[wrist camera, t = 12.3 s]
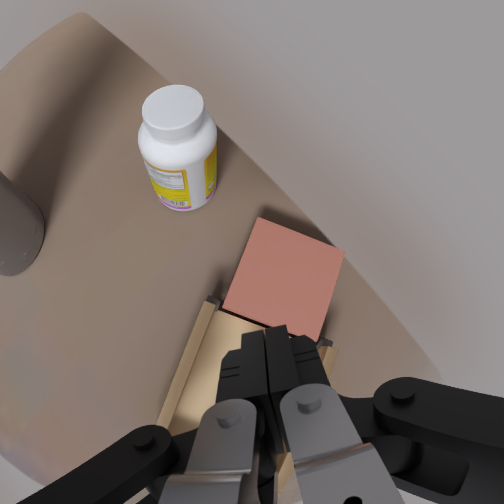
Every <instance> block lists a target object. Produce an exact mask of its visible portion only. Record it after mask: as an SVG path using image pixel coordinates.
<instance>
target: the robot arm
mask: <svg viewBox="0 0 504 504" xmlns="http://www.w3.org/2000/svg"><path fill="white" fill-rule="evenodd" d="M43 236H44V220H43V217H42V214H41V211H40V210H39V208H38V207H37V206H36V205H35V204H34V203H33V202H32V201H31V200H30V199H29V198H27V197H26V196H25V195H24V194H23V193H22V192H21V191H20V190H19V189H18V188H17V187H16V186H15V185H14V184H13V183H12V182H11V181H10V180H9V179H8V178H7V177H6V176H5V175H4V174H3V173H2V172H1V171H0V274H2V275H5V276H12V275H16V274H19V273H20V272H22V271H24V270H25V269H26V268H27V267H28V266H29V265H30V264H31V263H32V262H33V260H34V259H35V258H36V256H37V254H38V252H39V250H40V247H41V245H42V241H43ZM283 440H284V443H283ZM284 444H285V447H286V451H287V453H288V452H291V455H292V459H293V463H294V468H295V472H296V476H297V480H298V484H299V488H300V492H301V496H302V500H303V504H405V502H404V501H403V499H402V497H401V495H400V493H399V491H398V490H397V488H399V489H401V490H403V491H406V492H408V493H411V494H413V495H416V496H419V497H421V498H424V499H427V500H429V501H432V502H435V503H438V504H504V398H502V397H497V396H492V395H487V394H482V393H477V392H473V391H468V390H464V389H459V388H454V387H451V386H446V385H442V384H438V383H434V382H430V381H426V380H422V379H418V378H413V377H401V378H396V379H392V380H390V381H387V382H385V383H384V384H382V385H381V386H380V387H379V388H378V389H377V390H376V391H375V393H374V396H373V397H371V398H348V397H344V396H342V395H339V394H338V393H337V392H336V391H335V390H334V389H333V388H332V387H331V386H330V383H329V380H328V377H327V375H326V372H325V369H324V367H323V364H322V361H321V358H320V356H319V353H318V351H317V348H316V345H315V342H314V340H312V339H311V338H309V337H308V336H306V335H301V336H296V337H292V338H289V335H288V330H287V326H286V324H284V325H280V326H275V327H271V328H266V329H265V333H264V330H263V329H262V330H257V331H253V332H248V333H243V334H242V335H241V349H235V350H230V351H228V353H227V354H226V355H225V356H224V358H223V359H222V361H221V367H220V374H219V381H218V387H217V394H216V401H215V405H213V406H211V407H210V408H209V409H207V410H206V411H205V413H204V414H203V415H202V418H201V421H200V424H199V427H198V428H196V429H193V430H191V431H188V432H185V433H181V434H178V435H175V436H171V434H170V432H169V431H168V430H167V429H166V428H165V427H162V426H159V425H146V426H142V427H139V428H137V429H135V430H133V431H131V432H130V433H128V434H127V435H125V436H124V437H122V438H121V439H120V440H118V441H117V442H115V443H114V444H112V445H111V446H109V447H108V448H106V449H105V450H103V451H102V452H100V453H99V454H97V455H96V456H94V457H93V458H91V459H89V460H88V461H86V462H85V463H83V464H82V465H80V466H79V467H77V468H75V469H74V470H72V471H71V472H69V473H67V474H66V475H64V476H63V477H61V478H59V479H58V480H56V481H54V482H53V483H51V484H49V485H48V486H46V487H44V488H43V489H41V490H39V491H38V492H36V493H34V494H32V495H31V496H29V497H27V498H26V499H24V500H22V501H20V502H18V503H17V504H123V503H125V502H126V501H127V500H129V499H130V498H131V497H133V496H134V495H136V494H137V493H138V492H140V491H141V490H142V489H144V488H146V489H147V490H148V492H149V493H150V494H148V495H147V496H146V497H144V498H143V499H142V500H140V501H139V502H138V503H136V504H277V503H278V474H277V471H276V468H277V462H276V455H278V454H284V453H285V451H284Z"/></svg>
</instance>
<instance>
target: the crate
mask: <svg viewBox="0 0 504 504" xmlns="http://www.w3.org/2000/svg"><path fill="white" fill-rule="evenodd" d="M220 303H221V300H219V299H216V298H214V297H211V296H208V298H207V300H206V301H204V302H203V305H202V307H201V310H200V312H199V315H198V317H197V320H196V322H195V325H194V327H193V330H192V332H191V335H190V337H189V340H188V342H187V345H186V347H185V350H184V353H183V355H182V358H181V360H180V363H179V365H178V368H177V371H176V373H175V376H174V378H173V381H172V383H171V386H170V389H169V391H168V394H167V397H166V399H165V402H164V404H163V407H162V410H161V412H160V415H159V418H158V420H157V423H156V425H159V426H162V427H165V428H166V429H167V430H168V431H169V432H170V434H171V436H175V435H178V434H181V433H185V432H188V431H191V430H193V429H196V428H198V427H199V424H200V421H201V418H202V415H203V414H204V413H205V411H206V410H207V409H209V408H210V407H211V406H213V405H215V401H216V394H217V387H218V381H219V374H220V367H221V361H222V359H223V358H224V356H225V355H226V354H227V353H228V351H230V350H235V349H241V335H242V334H243V333H248V332H253V331H257V330H262V329H263V330H264V333H265V329H266V328H264V327H261V326H259V325H256V324H253V323H251V322H248V321H245V320H243V319H240V318H237V317H235V316H232V315H230V314H227V313H224V312H222V311H219V310H218V308H219V306H220ZM289 338H292V337H289ZM332 344H333V342H332V341H331V340H328V339H325V338H322V337H319V339H318V340H317V343H316V348H317V351H318V353H319V356H320V358H321V361H322V364H323V367H324V369H325V372H326V375H327V377H328V379H329V377H330V374H331V371H332V368H333V365H334V362H335V359H336V356H337V353H338V349H335V348H332ZM283 443H284V440H283ZM284 451H285V453H284V454H278V455H276V462H277V468H276V471H277V474H278V494H281V493H282V491H283V489H284V487H285V485H286V483H287V481H288V479H289V476H290V474H291V472H292V470H293V467H294V463H293V459H292V455H291V452H288V453H287V451H286V447H285V444H284Z"/></svg>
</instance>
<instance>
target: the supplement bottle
mask: <svg viewBox="0 0 504 504" xmlns="http://www.w3.org/2000/svg"><path fill="white" fill-rule="evenodd" d="M142 116H143V120H144V121H143V123H142V124H141V127H140V129H139V133H138V144H139V148H140V152H141V155H142V157H143V160H144V163H145V166H146V168H147V171H148V174H149V177H150V179H151V182H152V185H153V188H154V190H155V192H156V195H157V197H158V198H159V200H160V201H161V202H162V203H163V204H164V205H166V206H167V207H169V208H171V209H174V210H177V211H190V210H194V209H197V208H199V207H201V206H203V205H204V204H205V203H207V202H208V201H209V200H210V198H211V197H212V195H213V194H214V192H215V189H216V183H217V128H216V124H215V121H214V119H213V118H212V116H211V115H210V114H209V113H208V112H207V111H206V110H205V108H204V100H203V97H202V96H201V94H200V93H199V92H198V91H196V90H195V89H193V88H191V87H189V86H184V85H170V86H165V87H162V88H160V89H158V90H156V91H155V92H153V93H152V94H151V95H150V96H149V97H148V98H147V99H146V100H145V102H144V104H143V107H142Z"/></svg>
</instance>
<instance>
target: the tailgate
mask: <svg viewBox="0 0 504 504" xmlns="http://www.w3.org/2000/svg"><path fill="white" fill-rule="evenodd" d="M344 254H345V252H344V251H343V250H340V249H338V248H336V247H333V246H331V245H328V244H326V243H323V242H321V241H318V240H316V239H313V238H311V237H308V236H306V235H303V234H301V233H298V232H296V231H293V230H291V229H288V228H286V227H283V226H280V225H278V224H275V223H273V222H270V221H268V220H265V219H262V218H260V217H258V218H257V220H256V223H255V225H254V228H253V230H252V233H251V235H250V238H249V240H248V243H247V245H246V248H245V251H244V253H243V256H242V258H241V261H240V263H239V266H238V268H237V271H236V273H235V276H234V278H233V281H232V283H231V286H230V289H229V291H228V294H227V296H226V299H225V301H224V304H223V306H222V308H224V309H226V310H229V311H231V312H234V313H237V314H239V315H242V316H244V317H247V318H250V319H252V320H255V321H258V322H260V323H263V324H266V325H269V326H271V327H275V326H280V325H284V324H286V326H287V330H288V333H291V334H294V335H296V336H301V335H306V336H308V337H309V338H311V339H312V340H314V342H317V340H318V337H319V334H320V331H321V328H322V325H323V322H324V319H325V316H326V313H327V310H328V307H329V304H330V301H331V298H332V294H333V291H334V288H335V285H336V281H337V278H338V275H339V271H340V268H341V264H342V261H343V257H344Z"/></svg>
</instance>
